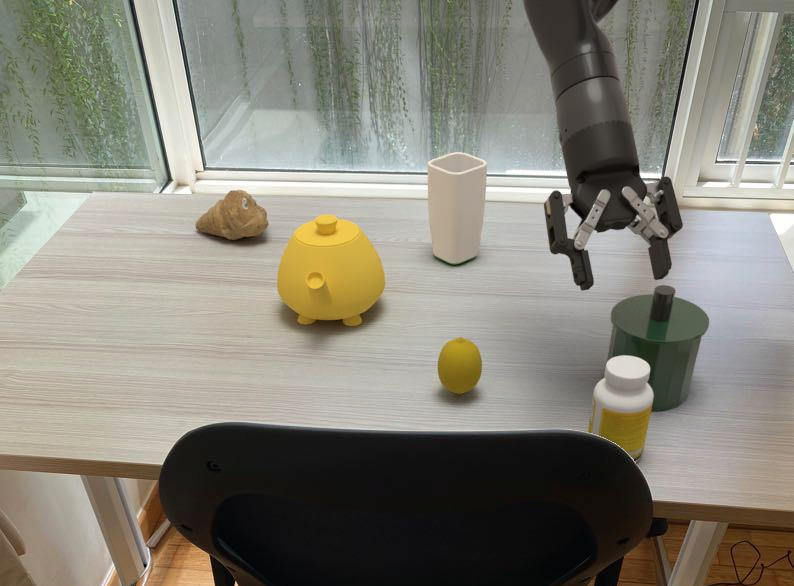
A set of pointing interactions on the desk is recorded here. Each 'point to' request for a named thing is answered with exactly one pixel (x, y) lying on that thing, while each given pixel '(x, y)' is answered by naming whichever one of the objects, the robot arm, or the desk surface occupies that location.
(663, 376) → the pot
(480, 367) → the lemon
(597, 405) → the pill bottle
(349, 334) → the desk surface
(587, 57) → the robot arm
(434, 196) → the cup
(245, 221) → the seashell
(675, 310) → the pot lid
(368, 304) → the teapot
